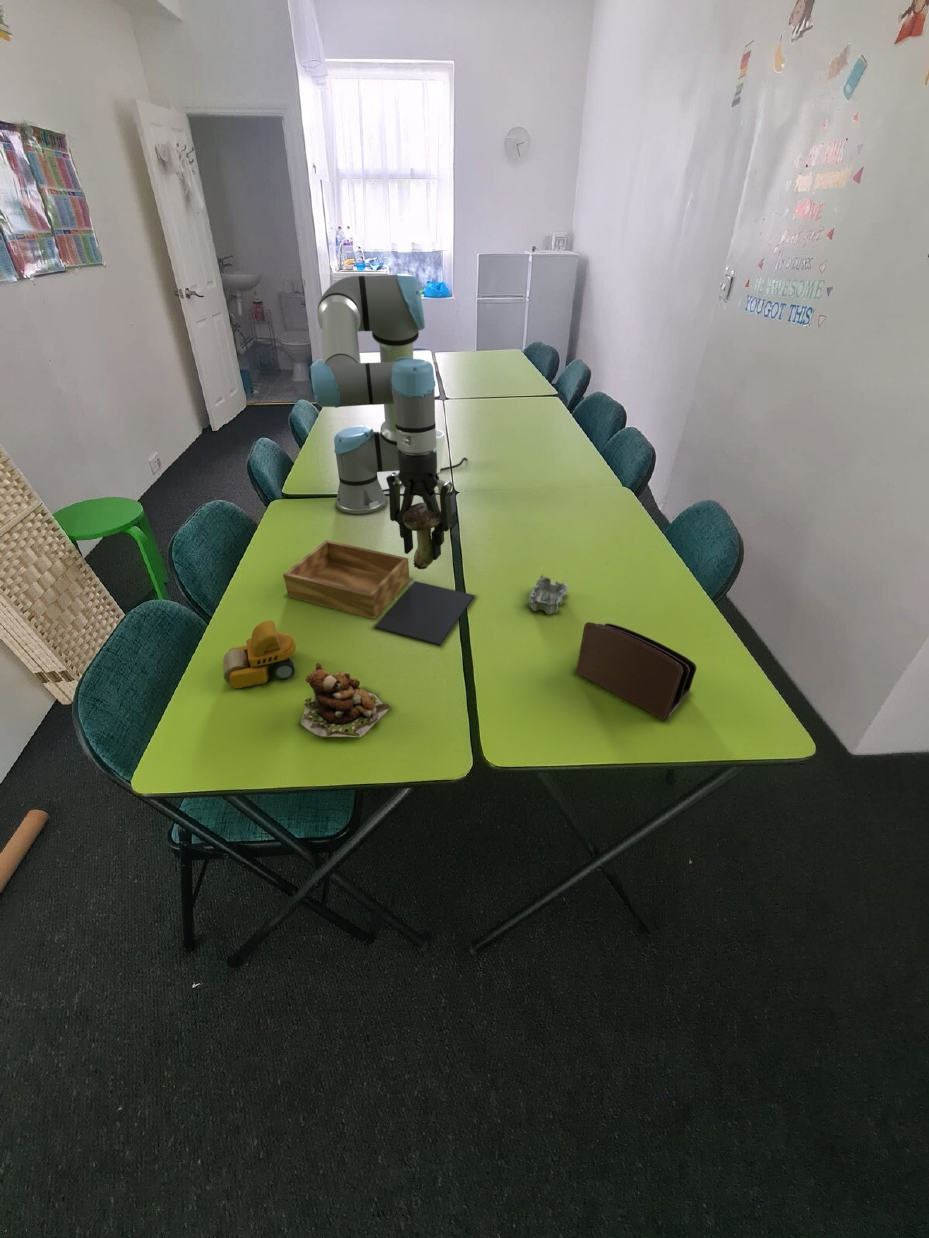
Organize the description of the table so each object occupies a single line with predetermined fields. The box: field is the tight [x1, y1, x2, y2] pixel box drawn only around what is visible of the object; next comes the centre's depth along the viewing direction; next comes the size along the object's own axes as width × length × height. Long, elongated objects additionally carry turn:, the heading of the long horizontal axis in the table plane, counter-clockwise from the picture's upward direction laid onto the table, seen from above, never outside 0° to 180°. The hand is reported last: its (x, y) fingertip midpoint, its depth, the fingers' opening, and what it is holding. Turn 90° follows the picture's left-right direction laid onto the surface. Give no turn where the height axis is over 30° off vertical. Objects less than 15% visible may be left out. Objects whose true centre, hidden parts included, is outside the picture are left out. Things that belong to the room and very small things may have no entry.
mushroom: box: [403, 502, 442, 570], centre depth 118 cm, size 9×9×15 cm
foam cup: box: [435, 429, 445, 474], centre depth 194 cm, size 10×9×13 cm
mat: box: [374, 580, 475, 647], centre depth 130 cm, size 20×16×1 cm
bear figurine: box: [300, 662, 391, 739], centre depth 101 cm, size 14×15×12 cm
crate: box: [282, 539, 411, 620], centre depth 137 cm, size 18×24×6 cm
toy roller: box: [222, 619, 297, 689], centre depth 111 cm, size 9×14×10 cm, turn 111°
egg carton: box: [528, 574, 569, 615], centre depth 132 cm, size 11×8×4 cm
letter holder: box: [575, 621, 698, 722], centre depth 107 cm, size 10×20×14 cm, turn 48°
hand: (422, 553), depth 121 cm, fingers closed on mushroom, 6 cm apart
